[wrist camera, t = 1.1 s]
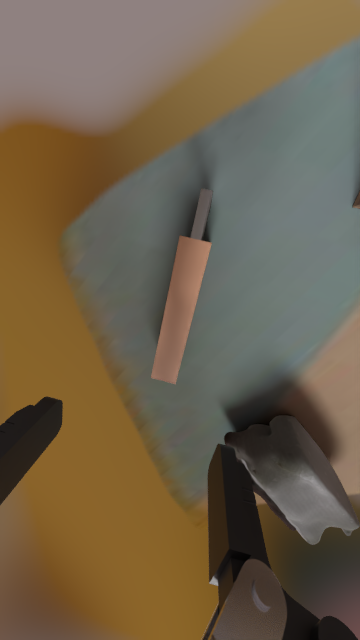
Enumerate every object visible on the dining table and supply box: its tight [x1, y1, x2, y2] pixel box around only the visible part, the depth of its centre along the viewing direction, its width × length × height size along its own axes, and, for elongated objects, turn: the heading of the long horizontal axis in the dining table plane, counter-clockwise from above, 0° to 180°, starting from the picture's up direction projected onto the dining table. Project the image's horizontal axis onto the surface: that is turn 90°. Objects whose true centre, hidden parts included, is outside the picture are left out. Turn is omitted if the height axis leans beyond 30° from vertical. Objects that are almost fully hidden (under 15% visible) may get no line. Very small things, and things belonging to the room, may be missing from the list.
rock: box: [224, 415, 359, 545], centre depth 28 cm, size 18×11×8 cm, turn 40°
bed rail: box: [151, 188, 213, 384], centre depth 23 cm, size 3×20×5 cm, turn 168°
